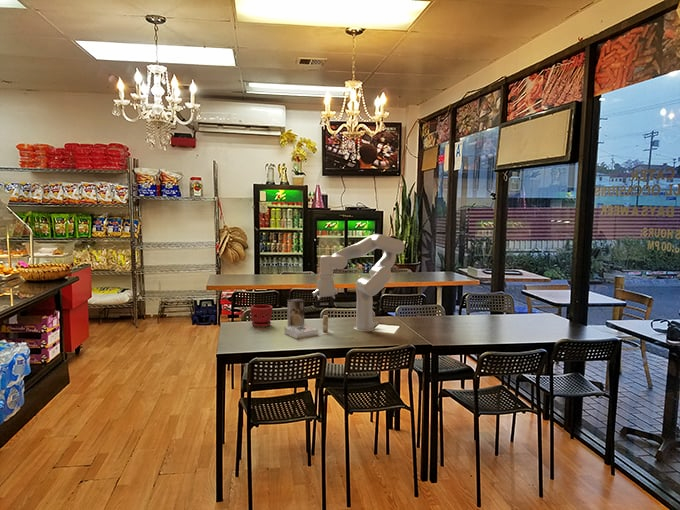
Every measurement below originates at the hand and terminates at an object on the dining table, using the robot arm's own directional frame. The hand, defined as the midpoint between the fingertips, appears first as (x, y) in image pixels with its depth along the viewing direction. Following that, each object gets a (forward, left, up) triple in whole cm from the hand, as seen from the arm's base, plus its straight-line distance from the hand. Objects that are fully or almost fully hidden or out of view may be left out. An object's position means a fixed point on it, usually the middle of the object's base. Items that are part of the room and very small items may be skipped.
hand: (325, 305), depth 271 cm
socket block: (+14, -4, -16) cm, 21 cm away
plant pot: (+24, -34, -16) cm, 44 cm away
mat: (0, -1, -16) cm, 16 cm away
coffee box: (+7, -22, -16) cm, 28 cm away
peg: (0, 0, -16) cm, 15 cm away
